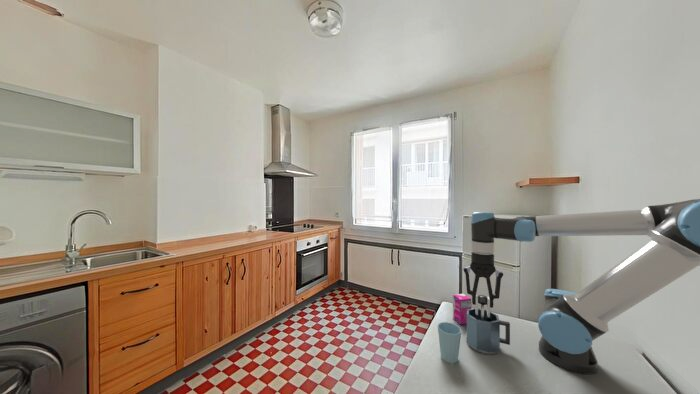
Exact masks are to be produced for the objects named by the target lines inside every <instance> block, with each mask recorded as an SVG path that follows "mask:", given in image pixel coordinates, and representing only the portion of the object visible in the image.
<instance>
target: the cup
mask: <svg viewBox="0 0 700 394" xmlns="http://www.w3.org/2000/svg"><path fill="white" fill-rule="evenodd" d="M437 333H438V341H439V351H440V358H441V359H442V360H443V361H445V362H447V363H451V364H455V363H457V362H458V360H459V356H460V355H459V354H460V353H459V352H460V346H461V338H462V329H461V327H460V326H458V325H457V324H455V323H452V322H448V321H446V322H445V321H443V322H439V323H438V324H437Z"/></svg>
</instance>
